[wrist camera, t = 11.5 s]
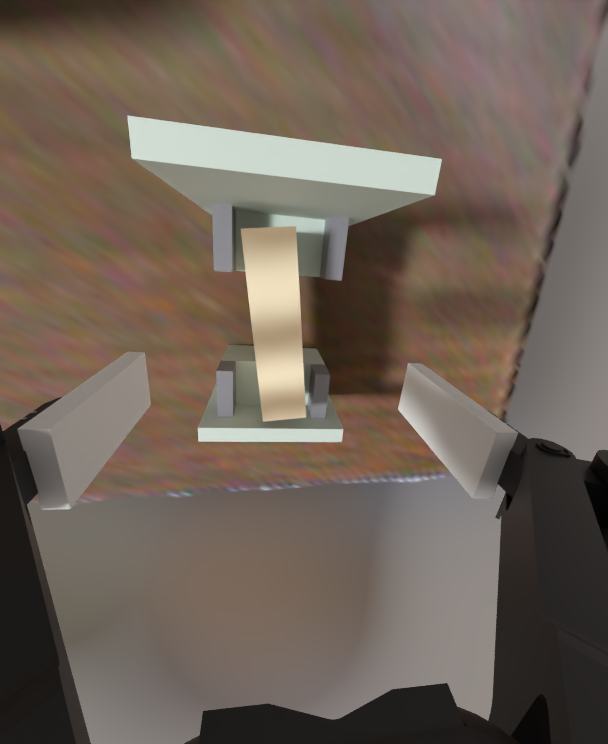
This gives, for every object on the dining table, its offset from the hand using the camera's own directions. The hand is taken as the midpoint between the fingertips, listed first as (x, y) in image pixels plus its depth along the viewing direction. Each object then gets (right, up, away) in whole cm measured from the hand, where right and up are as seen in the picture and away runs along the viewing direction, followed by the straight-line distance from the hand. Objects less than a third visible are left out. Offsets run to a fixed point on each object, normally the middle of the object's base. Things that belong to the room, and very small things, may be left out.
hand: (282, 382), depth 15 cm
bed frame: (-2, +8, +21) cm, 22 cm away
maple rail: (-2, +6, +15) cm, 16 cm away
